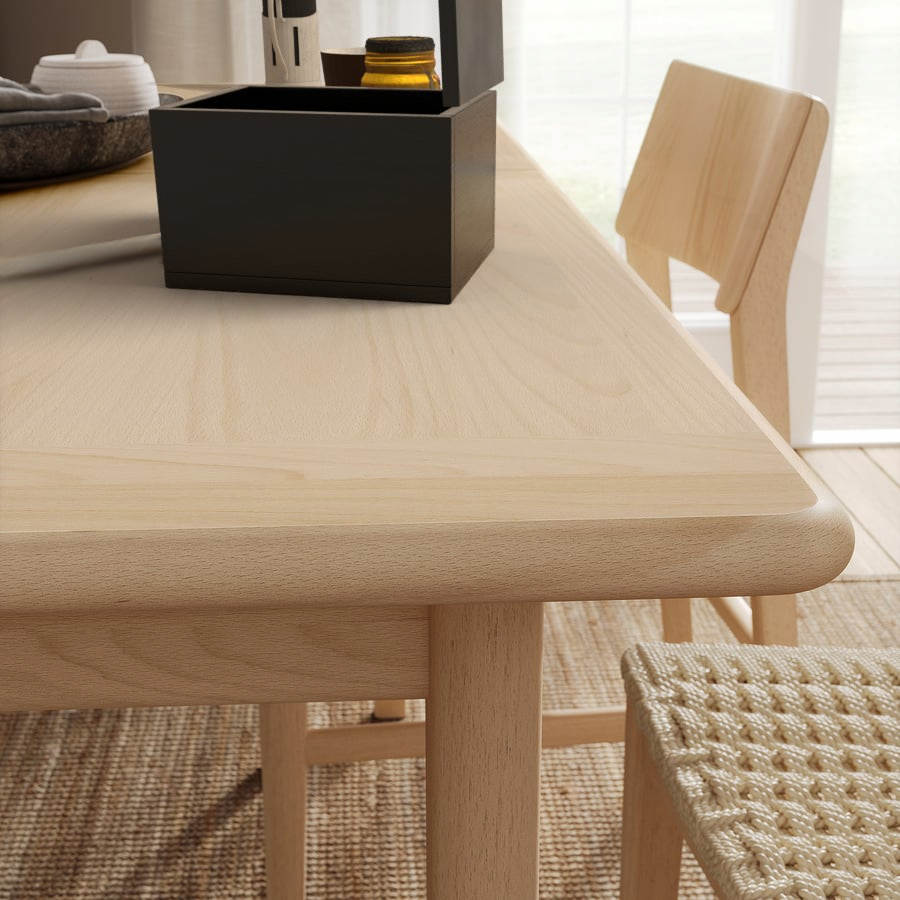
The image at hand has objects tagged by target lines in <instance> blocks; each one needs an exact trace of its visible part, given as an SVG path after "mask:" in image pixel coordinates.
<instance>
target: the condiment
mask: <svg viewBox="0 0 900 900" xmlns="http://www.w3.org/2000/svg"><path fill="white" fill-rule="evenodd" d="M364 44H365V45H364V47H365V48H366V57H365V66H366V70H367V72H366V73H365V74H364V76H363V77H362V80H361V87H378V88H424V89H442V87H441V86H442V82H441V79H440V77H439V75H438V73H437V72H436V70H435V68H436V65H437V63H436V62H437V61H436V58H435V52H436V51H435V49H436V44H435V41H434V38H433V37H429V36H421V35H397V36H396V35H395V36H394V35H393V36H392V35H391V36H390V35H389V36H375V37H374V36H373V37H368V38H367V39H366V40H365V43H364Z"/></svg>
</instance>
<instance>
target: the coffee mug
mask: <svg viewBox="0 0 900 900" xmlns="http://www.w3.org/2000/svg"><path fill="white" fill-rule="evenodd" d="M319 51H320V62H321V67H322V72H323V73H322V74H323V81H324V86H332V87H361V80H362V77H363V76H364V74H365V73H366V72H367V70H366V66H365V57H366V48H365V46H356V47H335V48H326V49H320V50H319Z"/></svg>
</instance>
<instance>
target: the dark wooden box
mask: <svg viewBox="0 0 900 900" xmlns="http://www.w3.org/2000/svg"><path fill="white" fill-rule="evenodd" d="M497 97H498V90H497V89H489V90H487V91H486V92H484V93H482V94H480V95H479V96H477V97H475V98H473V99H472V100H470V101H468V102H467V103H465V104H463V105H461V106H460V107H443V97H442V88H441V89H424V88H378V87H332V86H325V85H323V86H285V85H265V84H240V85H235V86H232V87H227V88H224V89H220V90H216V91H212V92H209V93H205V94H202V95H198V96H194V97H190V98H186V99H182V100H178V101H175V102H171V103H167V104H164V105H160V106H157V107H153V108H150V109H148V119H149V129H150V131H149V132H150V142H151V150H152V160H153V161H152V162H153V171H154V182H155V193H156V203H157V211H158V224H159V232H160V244H161V255H162V263H163V264H162V265H163V271H164V273H163V275H164V286H165V288H171V289H189V290H204V291H205V290H206V291H207V290H208V291H221V292H222V291H224V292H240V293H241V292H242V293H258V294H274V295H275V294H276V295H294V296H311V297H329V298H347V299H361V300H362V299H363V300H377V301H378V300H380V301H397V302H413V303H414V302H415V303H431V304H449V305H450V304H452V303H453V302H454V301H455V299H456V298H457V296H458V295H459V294H460V293H461V291H462V290H463V289H464V287H466V285H467V284H468V283H469V282H470V280H471V278H472V277H473V276H474V274H475V273H476V272H477V271H478V269H479V268H481V265H482V264H483V263H484V261H486V260H487V258H488V257H489V255H490V254H491V252H492V251H493V250H494V249H495V242H496V241H495V240H496V239H495V238H496V236H495V233H496V175H497V174H496V173H497V171H496V170H497V160H496V159H497V106H498V105H497V104H498V102H497V101H498V100H497V99H498V98H497Z"/></svg>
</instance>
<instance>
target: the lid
mask: <svg viewBox="0 0 900 900" xmlns="http://www.w3.org/2000/svg"><path fill="white" fill-rule="evenodd" d="M437 3H438V4H437V6H438V26H439V49H440V71H441V89H442V97H443V107H460V106H461V105H463V104H465V103H467V102H468V101H470V100H472V99H473V98H475V97H477V96H479V95H480V94H482V93H484V92H486V91H487V90H492V89H493V88H494V87H496V86H498V85H499V84H501V83H503V82H504V81H505V65H504V63H505V61H504V19H503V0H437Z"/></svg>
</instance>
